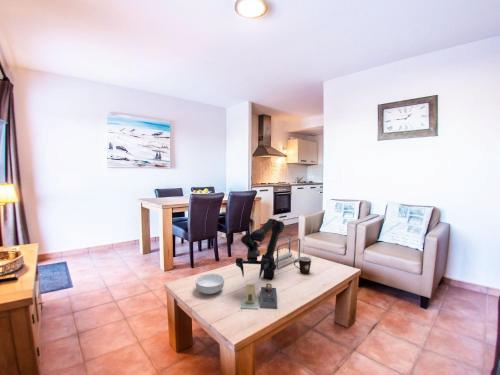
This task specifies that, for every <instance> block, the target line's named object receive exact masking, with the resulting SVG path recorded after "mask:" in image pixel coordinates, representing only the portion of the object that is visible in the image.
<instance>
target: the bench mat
mask: <svg viewBox="0 0 500 375" xmlns="http://www.w3.org/2000/svg"><path fill="white" fill-rule="evenodd" d="M259 301H260V297H254V304H246V296H242V299H241V303H240V309H241V310H242V309H243V310H244V309H245V310H246V309H247V310H258V309H259Z"/></svg>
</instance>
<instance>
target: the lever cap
mask: <svg viewBox="0 0 500 375" xmlns="http://www.w3.org/2000/svg"><path fill="white" fill-rule="evenodd" d="M245 285H246V286H245V297H246V304H254V298H255V291H256V288H255V287H256V286H255V284H249V283H248V284H245Z"/></svg>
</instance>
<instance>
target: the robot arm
mask: <svg viewBox="0 0 500 375" xmlns="http://www.w3.org/2000/svg"><path fill="white" fill-rule="evenodd" d="M284 228H285V223H284V222H283V221H279V220H277V219H276V218H268V220H267V221H266V222H265V223H264V224H263V225H262V226H261V227H260V228H258V229H255V230H253V231H252V232H251V233H248V232H247V233H246V234H244V235H243V236H241V238H240V241H241V243H242V244H243V245H244V246H245V247H246V248H247V253H246V254H247V255H246V256H247V257H246V260H245V259H244V258H243V257H236V258H235V266H236V267H238V268H240V271H241V274H242V278H244V277H245V276H244V275H245V273H244V271H245V270H244V265H246V264H247V265H260V269H259V274H258V275H259V276H258V277H259V279H260V278H261V276H262V274H263V276H262V279H266V280H273V279H274V278H275V271H276V269H277V268H276V264H277V263H274V262H275V256H274V255H275V250H276V248H277V246H276V245H278V242H277V240H278V239H279V236H280V234H281V233H282V232H283V231H284ZM270 230H271V235H270V239H269V242H268V243H269V245H268V249H267V248H266V252H265V253H264V254H262V255H261V253H260V250H259V247H260V245H259V243H262V242H263V241H264V240H265V238H266V234H267V233H268V232H269V231H270ZM260 256H261V258H260V260H258V257H260Z"/></svg>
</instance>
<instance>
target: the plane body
mask: <svg viewBox="0 0 500 375" xmlns="http://www.w3.org/2000/svg"><path fill="white" fill-rule="evenodd" d="M277 296H278V294H277V287H273V285H272V284H271V283H269V282H268V283H265V286H261V287H260V296H259V308H261V309H262V308H263V309H278V297H277Z"/></svg>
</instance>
